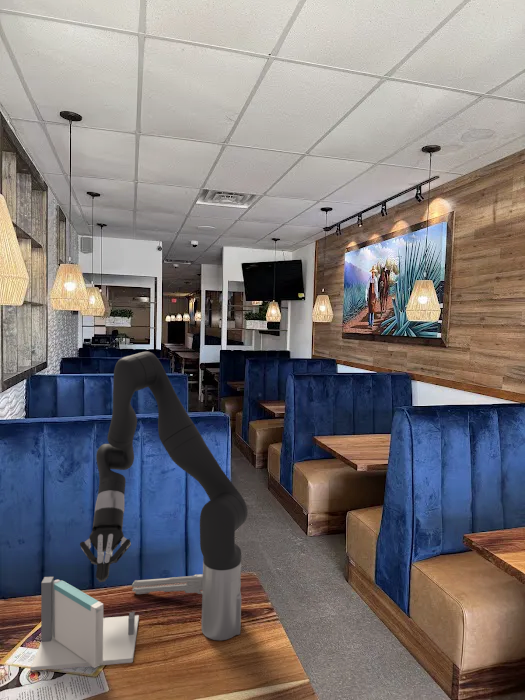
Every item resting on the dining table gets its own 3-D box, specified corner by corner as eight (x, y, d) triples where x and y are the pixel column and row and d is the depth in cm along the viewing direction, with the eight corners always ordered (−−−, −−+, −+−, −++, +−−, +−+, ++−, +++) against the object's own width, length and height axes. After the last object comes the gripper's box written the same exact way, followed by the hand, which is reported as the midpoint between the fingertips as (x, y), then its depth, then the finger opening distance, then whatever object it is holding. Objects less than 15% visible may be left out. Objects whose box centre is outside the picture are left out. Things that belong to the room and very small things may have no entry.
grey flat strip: (242, 602, 124) (237, 573, 124) (134, 609, 128) (130, 582, 128) (243, 597, 126) (239, 570, 126) (137, 605, 130) (133, 578, 130)
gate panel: (102, 662, 101) (103, 603, 100) (94, 668, 99) (95, 608, 98) (58, 632, 110) (59, 578, 109) (50, 637, 108) (51, 582, 107)
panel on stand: (138, 619, 118) (139, 561, 117) (132, 662, 103) (133, 596, 102) (50, 625, 114) (50, 566, 113) (30, 671, 100) (30, 603, 99)
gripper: (81, 507, 122) (70, 578, 111) (133, 504, 125) (128, 574, 113) (85, 518, 128) (75, 587, 117) (135, 516, 130) (130, 583, 119)
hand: (101, 580), depth 115 cm, fingers closed
